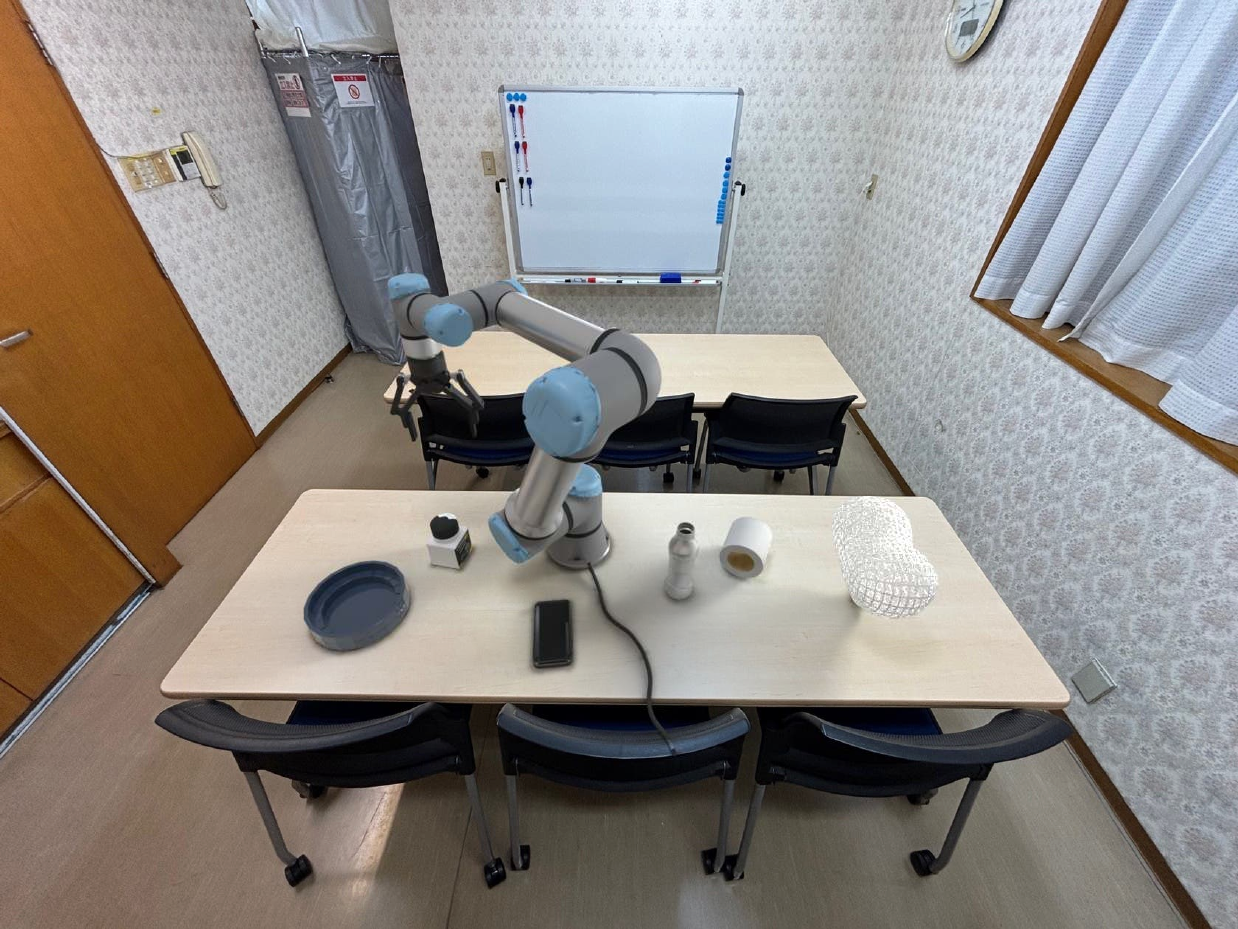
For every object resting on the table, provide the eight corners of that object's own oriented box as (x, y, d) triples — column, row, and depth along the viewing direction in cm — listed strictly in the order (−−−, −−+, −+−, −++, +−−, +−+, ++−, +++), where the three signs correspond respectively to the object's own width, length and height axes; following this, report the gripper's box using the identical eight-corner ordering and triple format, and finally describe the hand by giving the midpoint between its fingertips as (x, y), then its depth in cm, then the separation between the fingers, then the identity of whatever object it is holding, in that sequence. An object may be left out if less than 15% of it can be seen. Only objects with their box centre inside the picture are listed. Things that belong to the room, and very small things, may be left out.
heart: (917, 660, 101) (964, 589, 88) (837, 653, 102) (872, 582, 89) (874, 555, 123) (907, 485, 110) (809, 550, 125) (834, 481, 111)
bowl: (426, 611, 109) (421, 597, 106) (333, 670, 98) (324, 656, 95) (386, 561, 120) (380, 547, 117) (298, 609, 109) (289, 595, 106)
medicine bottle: (460, 569, 119) (450, 533, 111) (432, 564, 120) (420, 528, 112) (473, 547, 124) (464, 511, 117) (446, 543, 125) (435, 507, 118)
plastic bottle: (696, 585, 116) (706, 522, 103) (686, 608, 111) (696, 544, 99) (669, 576, 118) (676, 513, 106) (659, 597, 113) (665, 534, 101)
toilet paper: (728, 541, 127) (734, 511, 121) (768, 554, 123) (776, 524, 117) (716, 569, 120) (722, 539, 113) (758, 583, 116) (767, 554, 110)
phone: (532, 665, 98) (534, 601, 110) (533, 668, 99) (535, 604, 111) (573, 661, 99) (571, 598, 111) (573, 665, 100) (571, 602, 112)
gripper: (486, 342, 110) (500, 424, 123) (367, 347, 107) (393, 430, 120) (483, 357, 104) (498, 442, 117) (356, 363, 102) (385, 449, 114)
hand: (445, 436), depth 119 cm, fingers open, 13 cm apart
